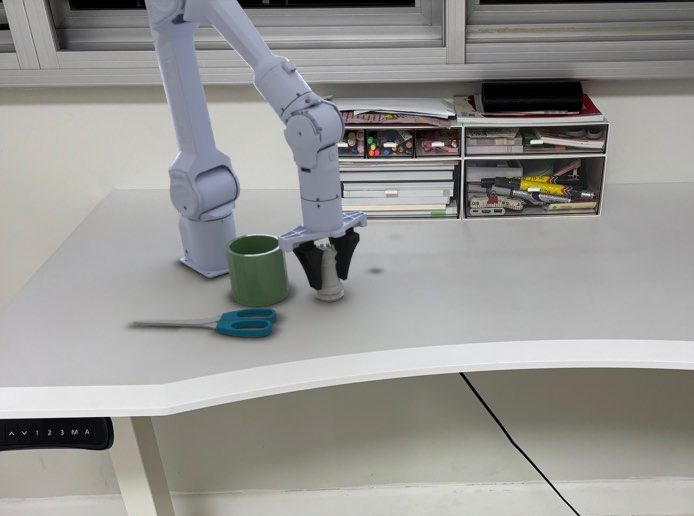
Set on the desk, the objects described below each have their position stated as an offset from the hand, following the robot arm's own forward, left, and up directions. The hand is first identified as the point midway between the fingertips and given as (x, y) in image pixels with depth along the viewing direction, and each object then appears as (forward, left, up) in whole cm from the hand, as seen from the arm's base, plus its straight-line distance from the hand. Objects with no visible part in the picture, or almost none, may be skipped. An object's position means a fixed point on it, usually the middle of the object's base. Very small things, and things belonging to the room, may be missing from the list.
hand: (328, 282), depth 119 cm
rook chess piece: (0, 0, -2) cm, 2 cm away
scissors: (-5, -19, -2) cm, 19 cm away
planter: (-8, -7, -2) cm, 11 cm away
